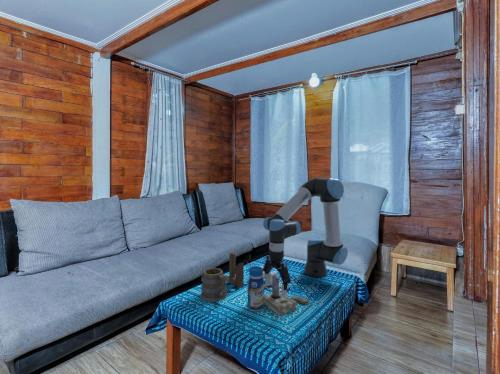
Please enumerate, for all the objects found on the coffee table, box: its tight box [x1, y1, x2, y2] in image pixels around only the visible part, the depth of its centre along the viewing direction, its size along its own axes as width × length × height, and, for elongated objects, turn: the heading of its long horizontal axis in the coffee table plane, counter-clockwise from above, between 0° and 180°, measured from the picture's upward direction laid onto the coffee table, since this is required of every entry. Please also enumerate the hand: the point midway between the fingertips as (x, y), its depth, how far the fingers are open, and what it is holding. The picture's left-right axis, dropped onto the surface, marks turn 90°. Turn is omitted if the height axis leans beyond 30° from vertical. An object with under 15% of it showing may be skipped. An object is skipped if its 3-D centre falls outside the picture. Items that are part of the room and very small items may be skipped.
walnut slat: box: [290, 295, 310, 306], centre depth 143 cm, size 9×3×2 cm, turn 59°
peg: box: [271, 274, 280, 299], centre depth 141 cm, size 4×4×14 cm
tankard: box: [199, 267, 229, 303], centre depth 144 cm, size 20×13×15 cm, turn 40°
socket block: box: [264, 290, 298, 316], centre depth 139 cm, size 11×14×4 cm
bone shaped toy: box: [258, 265, 279, 286], centre depth 169 cm, size 15×9×8 cm, turn 41°
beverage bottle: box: [246, 266, 265, 312], centre depth 136 cm, size 8×8×20 cm
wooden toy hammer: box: [227, 252, 245, 288], centre depth 163 cm, size 4×11×18 cm, turn 42°
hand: (275, 290), depth 141 cm, fingers open, 13 cm apart
